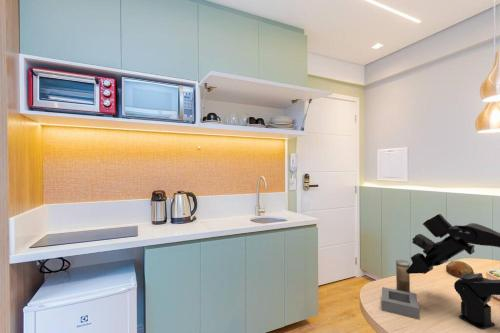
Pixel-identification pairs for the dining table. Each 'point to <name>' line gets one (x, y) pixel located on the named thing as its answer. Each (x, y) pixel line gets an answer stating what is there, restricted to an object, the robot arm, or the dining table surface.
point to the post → (402, 275)
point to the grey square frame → (400, 302)
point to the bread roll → (458, 269)
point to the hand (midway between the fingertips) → (412, 269)
